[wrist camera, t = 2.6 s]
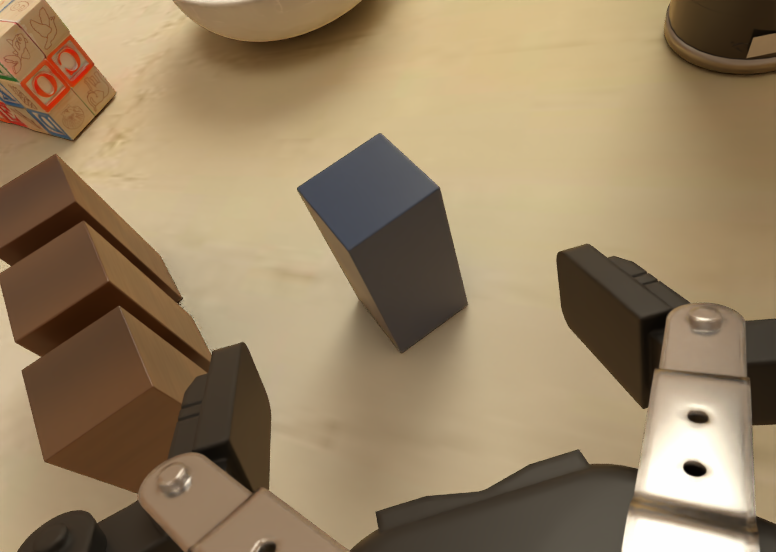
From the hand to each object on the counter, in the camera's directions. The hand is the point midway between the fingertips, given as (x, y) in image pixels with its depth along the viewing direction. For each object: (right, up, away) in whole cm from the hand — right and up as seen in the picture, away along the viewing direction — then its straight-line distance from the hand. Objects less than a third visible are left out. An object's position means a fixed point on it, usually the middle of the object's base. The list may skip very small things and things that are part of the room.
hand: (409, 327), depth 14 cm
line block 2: (-13, -4, +20) cm, 24 cm away
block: (+1, 0, +18) cm, 18 cm away
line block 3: (-10, -8, +16) cm, 21 cm away
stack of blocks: (-35, +18, +40) cm, 56 cm away
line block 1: (-17, 0, +23) cm, 28 cm away
